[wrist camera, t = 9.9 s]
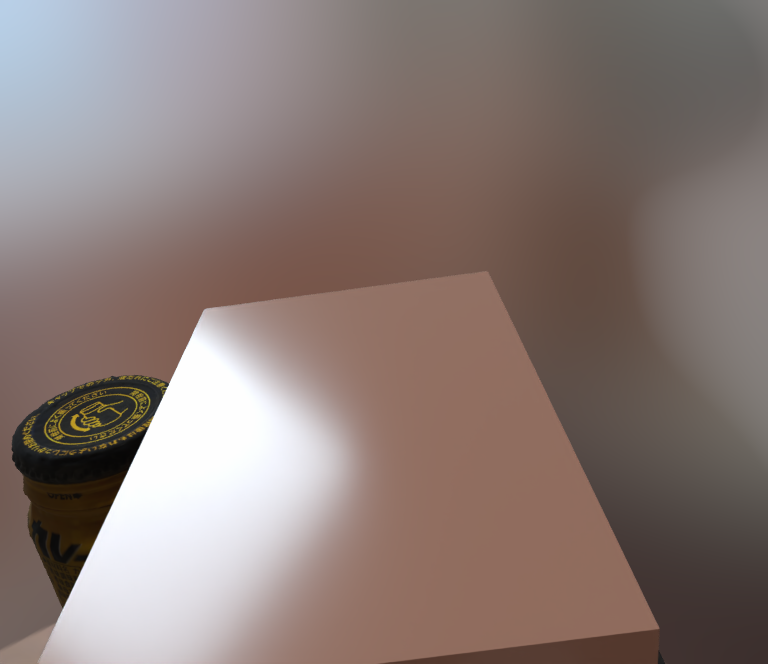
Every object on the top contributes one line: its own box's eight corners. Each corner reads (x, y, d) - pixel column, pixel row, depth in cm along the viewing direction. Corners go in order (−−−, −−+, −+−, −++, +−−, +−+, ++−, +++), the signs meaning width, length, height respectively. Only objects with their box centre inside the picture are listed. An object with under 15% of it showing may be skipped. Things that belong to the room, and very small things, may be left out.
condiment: (289, 599, 31) (228, 353, 25) (235, 805, 23) (133, 517, 18) (129, 602, 32) (37, 366, 26) (27, 801, 24) (-130, 527, 19)
